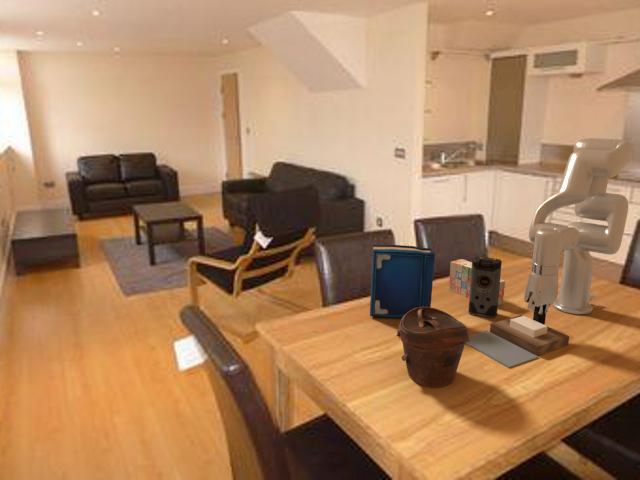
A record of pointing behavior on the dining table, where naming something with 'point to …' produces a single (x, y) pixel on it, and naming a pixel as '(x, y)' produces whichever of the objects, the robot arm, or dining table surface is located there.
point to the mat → (499, 349)
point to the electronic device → (484, 286)
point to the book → (400, 279)
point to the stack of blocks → (466, 279)
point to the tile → (528, 326)
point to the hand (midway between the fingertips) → (538, 323)
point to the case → (432, 345)
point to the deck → (530, 338)
